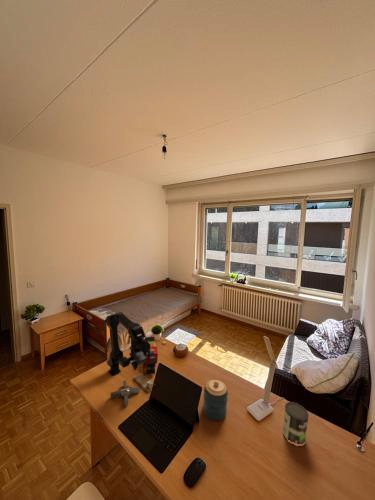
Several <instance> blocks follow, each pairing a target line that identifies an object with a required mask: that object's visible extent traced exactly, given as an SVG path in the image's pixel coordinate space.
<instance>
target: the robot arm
mask: <svg viewBox="0 0 375 500" xmlns="http://www.w3.org/2000/svg"><path fill="white" fill-rule="evenodd" d="M105 324H106V326H107V327H108V328H109V334H110V335H109V338H110V345H111V351H110V353H109V359H108V360H106V364H107V366H109V369H108V370H107V372H108V373H109V374H110V375H111V376H112V377H114V376H115V375H118V374H119V373H121V372H122V370H121V369H120V366H121V367H122V368H123V369H124V368H126V367H129V365H131V366H132V367H131V368H132V369H133V371H134V372H136V371H137V368H138V365H141V363H144V362H145V360H146V359H147V358H148V356H150V351H149V349H150V343H148V341H147V340H145V337H146V336H147V335H146V333H145V331H144V329H143V326H142V325H141V324H140V323H138V322H134V321H132V320H130V318H128V317H127V316H126V315H125V314H124V313H123V312H122V311H118V312H116V313H114V314H109V315H107V316H106V317H105ZM119 324H121V325H122V326H123V327H124V328H125V329H126V330H127V334H128V335H129V336H128V338H130V346H129V350H130V353H129V357H127V356H124V351H122V350H121V349H120V341H119V332H118V326H119Z"/></svg>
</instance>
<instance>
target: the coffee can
mask: <svg viewBox="0 0 375 500" xmlns="http://www.w3.org/2000/svg"><path fill="white" fill-rule="evenodd" d="M283 415H284V416H283V426H282V431H283V432H282V434H283V433H284V435H285V437H286V438H287V439H288V440H290V441H291V442H294V443H297V444H303V443H304V442H305V443H306V439H307V431H308V423H309V422H308V421H309V417H310V416H309V412H308V411H307V409H306V408H305V407H304V406H303V405H301V404H300V403H298V402H295V401H288V402H286V403H285V405H284V414H283Z"/></svg>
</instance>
